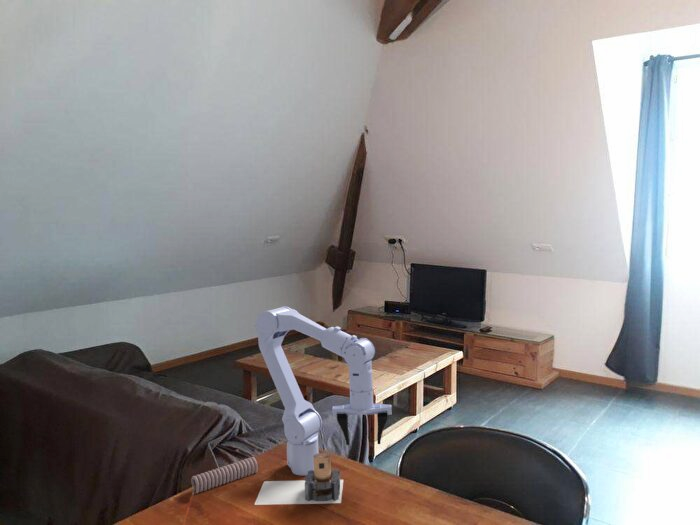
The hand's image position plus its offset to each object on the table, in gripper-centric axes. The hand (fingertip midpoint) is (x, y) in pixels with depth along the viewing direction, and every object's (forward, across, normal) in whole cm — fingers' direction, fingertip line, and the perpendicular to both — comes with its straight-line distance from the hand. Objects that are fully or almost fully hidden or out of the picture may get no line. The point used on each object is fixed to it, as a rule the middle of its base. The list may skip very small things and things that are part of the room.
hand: (363, 443), depth 139 cm
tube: (+9, -10, -7) cm, 15 cm away
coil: (+11, -36, +2) cm, 37 cm away
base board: (+10, -15, -5) cm, 19 cm away
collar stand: (+10, -10, -6) cm, 16 cm away
